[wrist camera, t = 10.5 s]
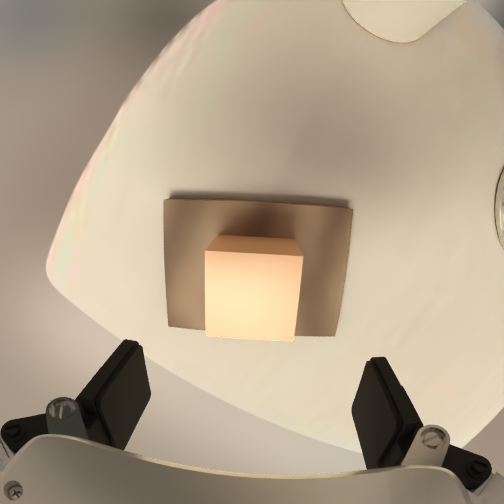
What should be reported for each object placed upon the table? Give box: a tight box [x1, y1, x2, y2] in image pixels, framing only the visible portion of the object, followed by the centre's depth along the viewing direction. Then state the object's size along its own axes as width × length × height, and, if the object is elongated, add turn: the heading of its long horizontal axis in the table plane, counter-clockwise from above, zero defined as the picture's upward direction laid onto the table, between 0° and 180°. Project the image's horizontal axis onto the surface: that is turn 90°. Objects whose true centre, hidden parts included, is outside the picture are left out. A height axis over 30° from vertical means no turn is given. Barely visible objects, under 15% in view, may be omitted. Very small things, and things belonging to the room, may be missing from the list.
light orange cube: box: [205, 235, 303, 341], centre depth 22 cm, size 6×6×6 cm
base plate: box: [164, 199, 353, 336], centre depth 24 cm, size 16×12×5 cm
